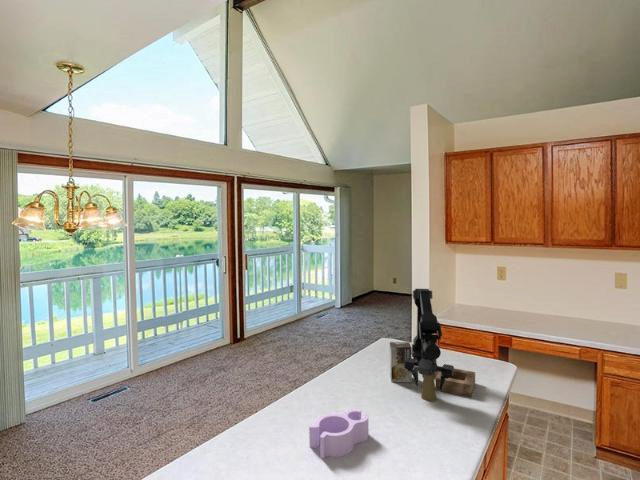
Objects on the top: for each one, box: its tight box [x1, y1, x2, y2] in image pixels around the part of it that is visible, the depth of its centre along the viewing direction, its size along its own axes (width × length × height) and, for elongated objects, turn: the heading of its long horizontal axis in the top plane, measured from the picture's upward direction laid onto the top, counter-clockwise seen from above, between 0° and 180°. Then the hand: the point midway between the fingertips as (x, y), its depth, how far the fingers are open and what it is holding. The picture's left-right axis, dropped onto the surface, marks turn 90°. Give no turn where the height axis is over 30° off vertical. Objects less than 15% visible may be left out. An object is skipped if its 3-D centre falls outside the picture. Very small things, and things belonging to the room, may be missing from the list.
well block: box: [435, 365, 476, 398], centre depth 159 cm, size 14×14×5 cm
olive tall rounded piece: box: [420, 372, 437, 402], centre depth 149 cm, size 6×6×11 cm
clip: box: [308, 408, 370, 460], centre depth 121 cm, size 20×12×7 cm, turn 123°
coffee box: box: [389, 341, 413, 383], centre depth 166 cm, size 9×6×16 cm
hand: (428, 387), depth 150 cm, fingers open, 9 cm apart
